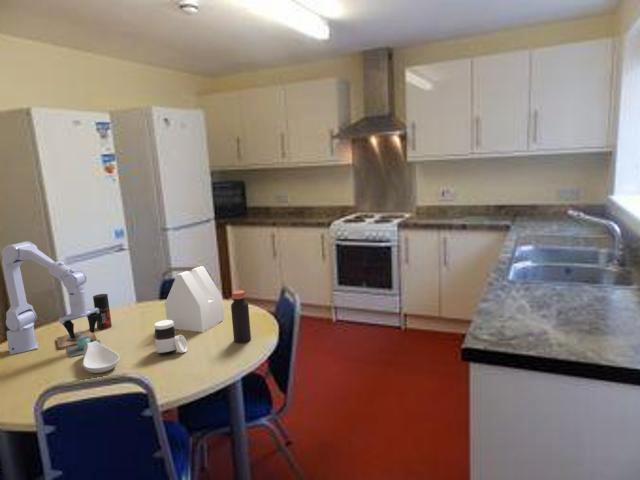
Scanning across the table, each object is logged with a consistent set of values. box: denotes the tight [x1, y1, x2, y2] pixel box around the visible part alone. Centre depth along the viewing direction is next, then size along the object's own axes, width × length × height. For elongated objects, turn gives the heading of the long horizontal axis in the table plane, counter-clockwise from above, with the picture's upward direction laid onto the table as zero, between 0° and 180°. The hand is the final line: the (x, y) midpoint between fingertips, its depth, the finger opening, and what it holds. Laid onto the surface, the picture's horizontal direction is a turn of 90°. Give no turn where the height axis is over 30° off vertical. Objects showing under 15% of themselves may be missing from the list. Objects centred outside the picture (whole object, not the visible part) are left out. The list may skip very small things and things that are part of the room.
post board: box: [56, 330, 98, 351], centre depth 189 cm, size 14×14×3 cm
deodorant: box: [92, 293, 113, 331], centre depth 203 cm, size 6×6×15 cm
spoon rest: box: [82, 341, 121, 374], centre depth 164 cm, size 24×12×7 cm, turn 41°
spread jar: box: [153, 319, 188, 356], centre depth 172 cm, size 12×11×12 cm
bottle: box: [230, 289, 252, 344], centre depth 178 cm, size 7×7×20 cm
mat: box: [66, 339, 102, 359], centre depth 180 cm, size 12×12×1 cm
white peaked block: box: [164, 265, 225, 333], centre depth 200 cm, size 19×15×25 cm
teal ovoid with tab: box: [77, 336, 90, 350], centre depth 179 cm, size 6×5×4 cm
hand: (82, 335), depth 179 cm, fingers open, 7 cm apart
